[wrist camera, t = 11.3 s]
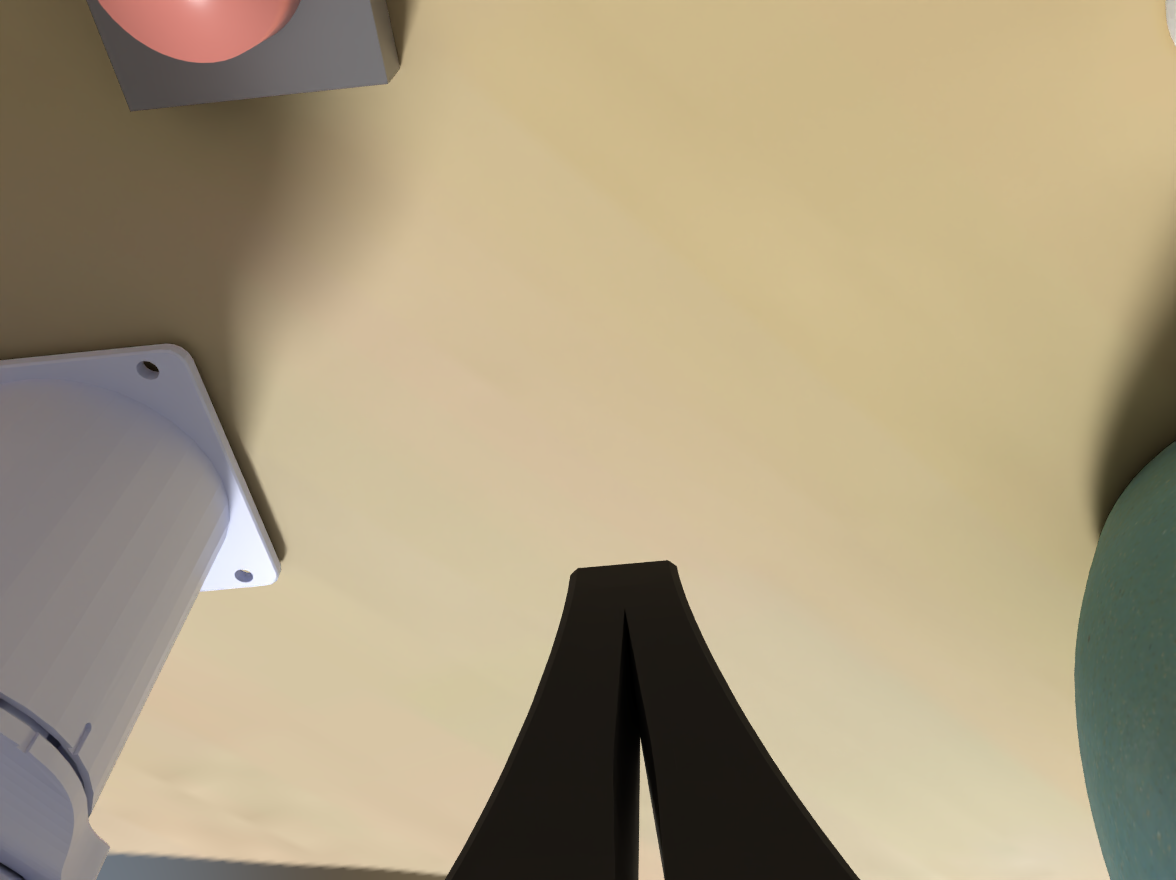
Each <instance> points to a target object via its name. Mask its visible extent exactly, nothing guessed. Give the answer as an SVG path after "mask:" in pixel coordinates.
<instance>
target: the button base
mask: <svg viewBox="0 0 1176 880" xmlns="http://www.w3.org/2000/svg"><path fill="white" fill-rule="evenodd" d="M86 1H87V3H88V6H89V8H90V11H91V13H92V16H93V18H94V21H95V23H96V26H97V28H98V31H99V34H100V36H101V39H102V41H103V44H104V46H105V49H106V51H107V54H108V56H109V59H110V61H111V64H112V66H113V69H114V71H115V74H116V76H117V79H118V81H119V84H120V86H121V89H122V91H123V94H124V96H125V99H126V101H127V104H128V106H129V109H130V111H138V110H148V109H157V108H166V107H176V106H185V105H194V104H204V103H213V102H222V101H232V100H241V99H250V98H260V97H269V96H278V95H288V94H297V93H306V92H315V91H325V90H334V89H343V88H353V87H362V86H371V85H381V84H388V83H389V82H390V81H391V79H392V78H393V77H394V76H395V74H396V73H397V72H398V70H399V69H400V66H399V61H398V56H397V51H396V46H395V42H394V37H393V32H392V27H391V22H390V18H389V13H388V8H387V3H386V0H301V1H300V3H299V6H298V8H297V10H296V12H295V13H294V15H293V16H292V18H291V19H290V21H289V22H288V23H287V24H286V25H285V26H284V27H283V28H282V29H281V30H280V31H279V32H277V33H276V34H275V35H273V36H272V37H270V38H268V39H266V40H265V41H263V42H261V43H259V44H258V45H256V46H254V47H253V48H251V49H249V50H247V51H246V52H244V53H242V54H240V55H238V56H236V57H233V58H231V59H228V60H224V61H219V62H214V63H197V62H188V61H183V60H179V59H175V58H172V57H169V56H167V55H164V54H161V53H159V52H157V51H155V50H153V49H151V48H149V47H148V46H146V45H145V44H143V43H141V42H140V41H138V40H137V39H135V38H134V37H133V36H131V35H130V34H129V33H128V32H126V31H125V30H124V29H123V28H122V27H121V26H120V25H119V24H118V23H117V22H116V21H115V20H113V19H112V17H111V16H110V15H109V14H108V13H107V12H106V10H105V9H104V8H103V7H102V6H101V4H100V3H99V1H98V0H86Z"/></svg>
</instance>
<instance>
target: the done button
mask: <svg viewBox="0 0 1176 880" xmlns="http://www.w3.org/2000/svg"><path fill="white" fill-rule="evenodd" d="M98 1H99V3H100V4H101V6H102V7H103V8H104V9H105V10H106V12H107V13H108V14H109V15H110V16H111V17H112V19H113V20H115V21H116V22H117V23H118V24H119V25H120V26H121V27H122V28H123V29H124V30H125V31H126V32H128V33H129V34H130V35H131V36H133V37H134V38H135V39H137V40H138V41H140V42H141V43H143V44H145V45H146V46H148V47H149V48H151V49H153V50H155V51H157V52H159V53H161V54H164V55H167V56H169V57H172V58H175V59H179V60H183V61H188V62H197V63H214V62H219V61H224V60H228V59H231V58H233V57H236V56H238V55H240V54H242V53H244V52H246V51H247V50H249V49H251V48H253V47H254V46H256V45H258V44H259V43H261V42H263V41H265V40H266V39H268V38H270V37H272V36H273V35H275V34H276V33H277V32H279V31H280V30H281V29H282V28H283V27H284V26H285V25H286V24H287V23H288V22H289V21H290V19H291V18H292V16H293V15H294V13H295V12H296V10H297V8H298V6H299V3H300V1H301V0H98Z"/></svg>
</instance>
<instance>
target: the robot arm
mask: <svg viewBox="0 0 1176 880" xmlns="http://www.w3.org/2000/svg"><path fill="white" fill-rule="evenodd" d="M143 361H148V362H151V363H153V364H154V365H156V367H157V368H158V369H159V372H156V371H152V370H150V369H148V368H147V367H146V366H145V365H144V363H143ZM241 569H242V570H247V571H249V572H251V573H246V572H244V571H242V570H241ZM280 572H281V564H280V562H279V559H278V557H277V555H276V552H275V550H274V548H273V545H272V543H271V541H270V538H269V536H268V534H267V531H266V529H265V527H264V524H263V522H262V520H261V517H260V515H259V513H258V510H257V508H256V506H255V503H254V501H253V498H252V496H251V494H250V491H249V489H248V487H247V484H246V482H245V480H244V477H243V475H242V473H241V470H240V468H239V466H238V463H237V461H236V459H235V456H234V454H233V452H232V449H231V447H230V445H229V442H228V440H227V438H226V435H225V433H224V430H223V428H222V426H221V423H220V421H219V419H218V416H217V414H216V412H215V409H214V407H213V405H212V402H211V400H210V398H209V395H208V393H207V391H206V388H205V386H204V384H203V381H202V379H201V377H200V374H199V372H198V370H197V367H196V365H195V362H194V360H193V358H192V357H191V355H190V354H189V353H188V352H187V351H186V350H185V349H183V348H182V347H180V346H177V345H175V344H157V345H147V346H137V347H127V348H117V349H107V350H97V351H87V352H77V353H67V354H58V355H48V356H38V357H28V358H18V359H8V360H0V880H96V878H97V876H98V873H99V871H100V869H101V867H102V865H103V862H104V860H105V858H106V856H107V854H108V851H109V849H110V846H109V845H108V844H107V843H106V842H105V841H104V840H103V839H101V838H100V837H99V836H98V835H97V834H96V833H95V831H94V830H93V829H92V828H91V826H90V824H89V820H88V818H89V816H90V814H91V812H92V810H93V808H94V806H95V804H96V802H97V800H98V798H99V796H100V794H101V792H102V790H103V788H104V786H105V784H106V782H107V780H108V778H109V776H110V773H111V771H112V769H113V767H114V765H115V763H116V761H117V759H118V757H119V755H120V753H121V751H122V749H123V747H124V745H125V743H126V741H127V739H128V737H129V735H130V733H131V731H132V729H133V727H134V724H135V722H136V720H137V718H138V716H139V714H140V712H141V710H142V708H143V706H144V704H145V702H146V700H147V698H148V696H149V694H150V692H151V690H152V688H153V686H154V684H155V682H156V680H157V678H158V675H159V673H160V671H161V669H162V667H163V665H164V663H165V661H166V659H167V657H168V655H169V653H170V651H171V649H172V647H173V645H174V643H175V641H176V639H177V637H178V635H179V633H180V631H181V628H182V626H183V624H184V622H185V620H186V618H187V616H188V614H189V612H190V610H191V608H192V606H193V604H194V602H195V600H196V598H197V596H198V594H199V592H201V591H212V590H222V589H233V588H243V587H254V586H264V585H270V584H273V583H274V582H276V581H277V579H278V577H279V574H280ZM640 738H641V744H642V750H643V756H644V762H645V767H646V773H647V779H648V785H649V791H650V797H651V802H652V808H653V814H654V820H655V826H656V832H657V838H658V843H659V849H660V855H661V861H662V867H663V873H664V878H665V880H860V879H859V878H858V877H857V875H856V874H855V873H854V872H853V870H852V869H851V868H850V866H849V865H848V864H847V863H846V861H845V860H844V859H843V857H842V856H841V855H840V853H839V852H838V851H837V849H836V848H835V847H834V845H833V844H832V843H831V841H830V840H829V839H828V837H827V836H826V835H825V834H824V832H823V831H822V830H821V828H820V827H819V826H818V824H817V823H816V821H815V820H814V819H813V817H812V816H811V814H810V813H809V812H808V810H807V809H806V807H805V806H804V805H803V803H802V802H801V800H800V799H799V798H798V796H797V795H796V793H795V792H794V791H793V789H792V788H791V786H790V785H789V783H788V782H787V780H786V779H785V777H784V776H783V774H782V773H781V771H780V770H779V768H778V767H777V765H776V764H775V762H774V761H773V759H772V758H771V756H770V755H769V753H768V751H767V750H766V748H765V747H764V745H763V743H762V742H761V740H760V739H759V737H758V736H757V734H756V732H755V731H754V729H753V728H752V726H751V724H750V723H749V721H748V719H747V718H746V716H745V714H744V713H743V711H742V709H741V707H740V706H739V704H738V702H737V701H736V699H735V697H734V695H733V693H732V692H731V690H730V688H729V686H728V684H727V682H726V680H725V679H724V677H723V675H722V673H721V671H720V669H719V668H718V666H717V664H716V662H715V660H714V658H713V656H712V654H711V652H710V650H709V648H708V646H707V644H706V642H705V640H704V638H703V636H702V634H701V631H700V629H699V627H698V625H697V623H696V621H695V618H694V616H693V614H692V611H691V609H690V606H689V604H688V601H687V599H686V596H685V593H684V590H683V587H682V584H681V581H680V578H679V574H678V570H677V566H676V565H674V564H673V563H671V562H670V561H668V560H666V561H655V562H644V563H632V564H621V565H610V566H598V567H587V568H578V569H577V570H575V571H574V572H573V573H572V574H571V575H570V581H569V587H568V593H567V597H566V601H565V606H564V610H563V614H562V617H561V621H560V624H559V628H558V631H557V634H556V638H555V641H554V644H553V647H552V650H551V653H550V656H549V659H548V662H547V664H546V667H545V670H544V673H543V675H542V678H541V681H540V683H539V686H538V689H537V692H536V694H535V697H534V700H533V702H532V705H531V707H530V710H529V712H528V715H527V717H526V719H525V722H524V724H523V726H522V728H521V731H520V733H519V735H518V738H517V740H516V742H515V744H514V747H513V749H512V751H511V753H510V756H509V758H508V760H507V763H506V765H505V767H504V769H503V771H502V773H501V776H500V778H499V780H498V782H497V784H496V786H495V788H494V790H493V792H492V794H491V796H490V798H489V800H488V802H487V804H486V806H485V808H484V810H483V812H482V814H481V816H480V818H479V819H478V821H477V823H476V825H475V827H474V829H473V831H472V833H471V834H470V836H469V838H468V840H467V842H466V844H465V846H464V847H463V849H462V851H461V853H460V855H459V856H458V858H457V860H456V861H455V863H454V865H453V867H452V868H451V870H450V872H449V874H448V875H447V877H446V879H445V880H638V864H639V790H640Z"/></svg>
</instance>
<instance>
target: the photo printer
mask: <svg viewBox="0 0 1176 880" xmlns="http://www.w3.org/2000/svg"><path fill="white" fill-rule="evenodd" d="M1165 4H1166V19H1167V25H1168V29H1169V32H1170V36H1171V38H1172V40H1173V42H1174V44H1175V46H1176V0H1166V1H1165Z"/></svg>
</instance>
